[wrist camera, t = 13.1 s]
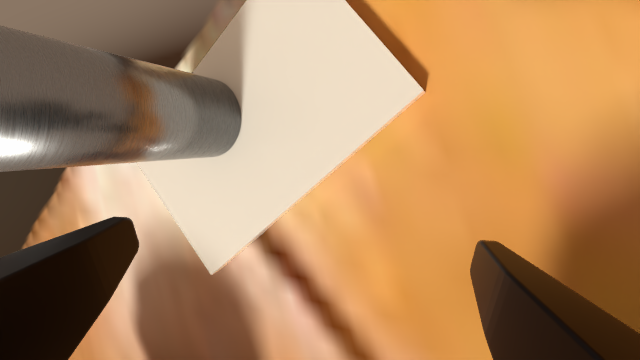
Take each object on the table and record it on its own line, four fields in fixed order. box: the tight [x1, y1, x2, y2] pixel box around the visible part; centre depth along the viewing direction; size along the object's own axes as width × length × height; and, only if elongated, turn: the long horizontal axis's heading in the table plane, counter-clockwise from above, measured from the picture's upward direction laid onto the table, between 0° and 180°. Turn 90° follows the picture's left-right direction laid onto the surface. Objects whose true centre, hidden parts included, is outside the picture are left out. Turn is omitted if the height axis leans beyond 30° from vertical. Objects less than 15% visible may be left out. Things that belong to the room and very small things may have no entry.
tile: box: [136, 0, 425, 275], centre depth 22 cm, size 20×12×1 cm, turn 131°
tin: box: [0, 26, 241, 172], centre depth 17 cm, size 6×6×13 cm
